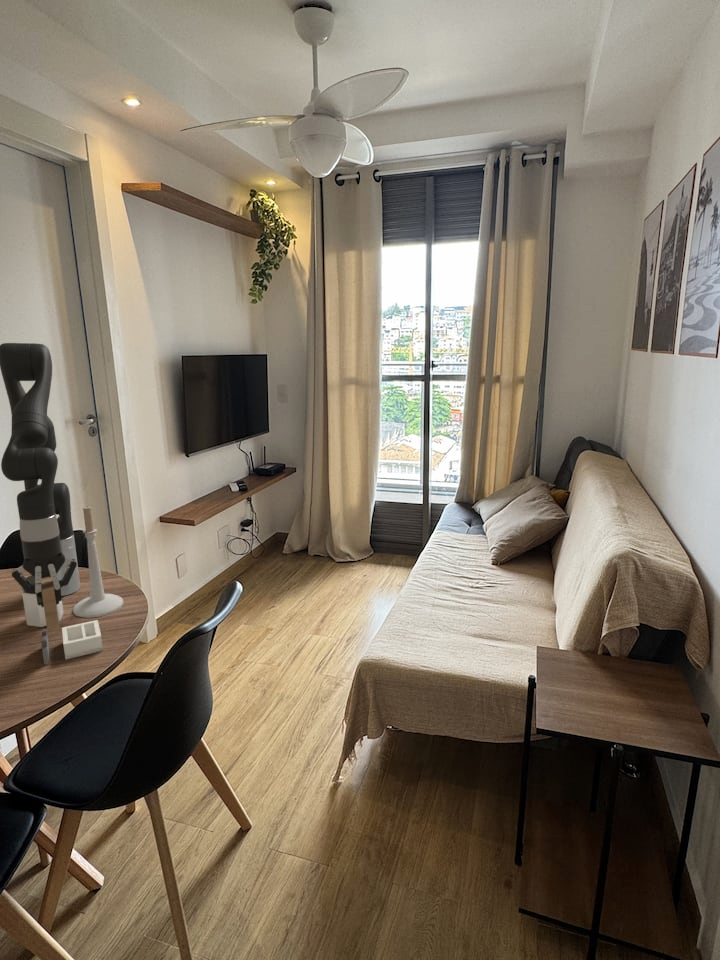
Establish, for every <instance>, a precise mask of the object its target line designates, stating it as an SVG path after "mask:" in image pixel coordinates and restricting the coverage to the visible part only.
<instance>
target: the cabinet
mask: <svg viewBox="0 0 720 960" xmlns="http://www.w3.org/2000/svg"><path fill="white" fill-rule="evenodd" d="M99 625H100V624H99V620H98V619H95V620H92V621H86V622H82V623H77V624H73V625H68V626H64V627H61V630H62V631H61V632H62V643H63V651H64V652H63V653H64V658H65V660H66V661H67V660H70V659H74V658H78V657H82V656H87V655H91V654H95V653H98V652H102V651H104V649H103V641H102V639H103V638H102V634H101V628H100V626H99ZM40 632H41V650H42V657H43V664H44V666H45V665H47V666H48V665H50V643H49V638H48V637H49V636H48V631H47V628H42V629H41V631H40Z"/></svg>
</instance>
